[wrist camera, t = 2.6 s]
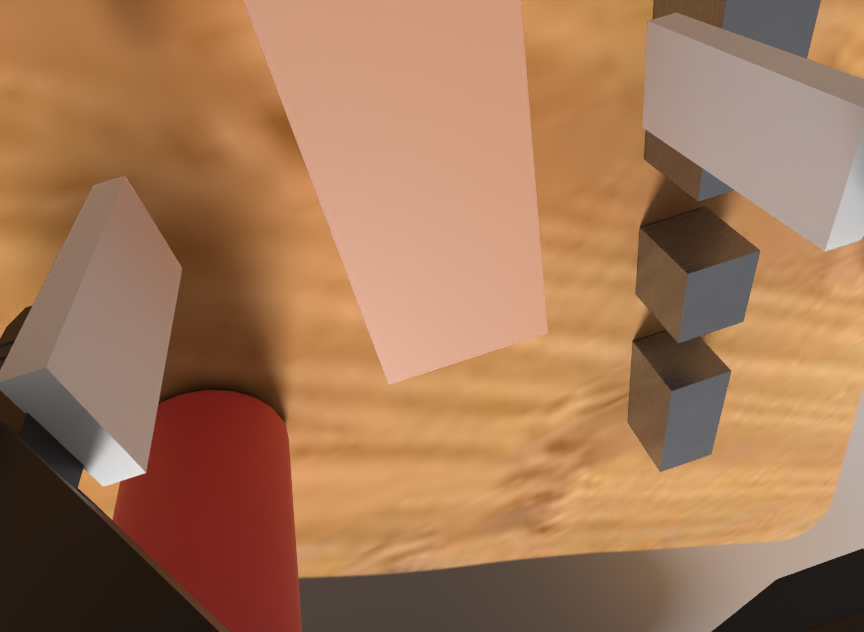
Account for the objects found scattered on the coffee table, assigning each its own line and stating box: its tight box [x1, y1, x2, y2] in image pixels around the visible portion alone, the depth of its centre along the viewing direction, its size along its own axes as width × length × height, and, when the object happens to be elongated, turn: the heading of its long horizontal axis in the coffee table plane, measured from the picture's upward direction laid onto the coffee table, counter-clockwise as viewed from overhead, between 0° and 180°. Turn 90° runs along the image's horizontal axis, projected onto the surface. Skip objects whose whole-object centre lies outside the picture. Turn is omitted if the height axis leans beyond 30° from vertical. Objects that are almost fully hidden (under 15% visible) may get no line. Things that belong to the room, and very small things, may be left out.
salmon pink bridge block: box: [243, 0, 548, 385], centre depth 15 cm, size 10×4×8 cm, turn 11°
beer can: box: [112, 389, 302, 632], centre depth 21 cm, size 7×7×12 cm
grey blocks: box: [628, 0, 821, 472], centre depth 24 cm, size 24×3×4 cm, turn 11°
